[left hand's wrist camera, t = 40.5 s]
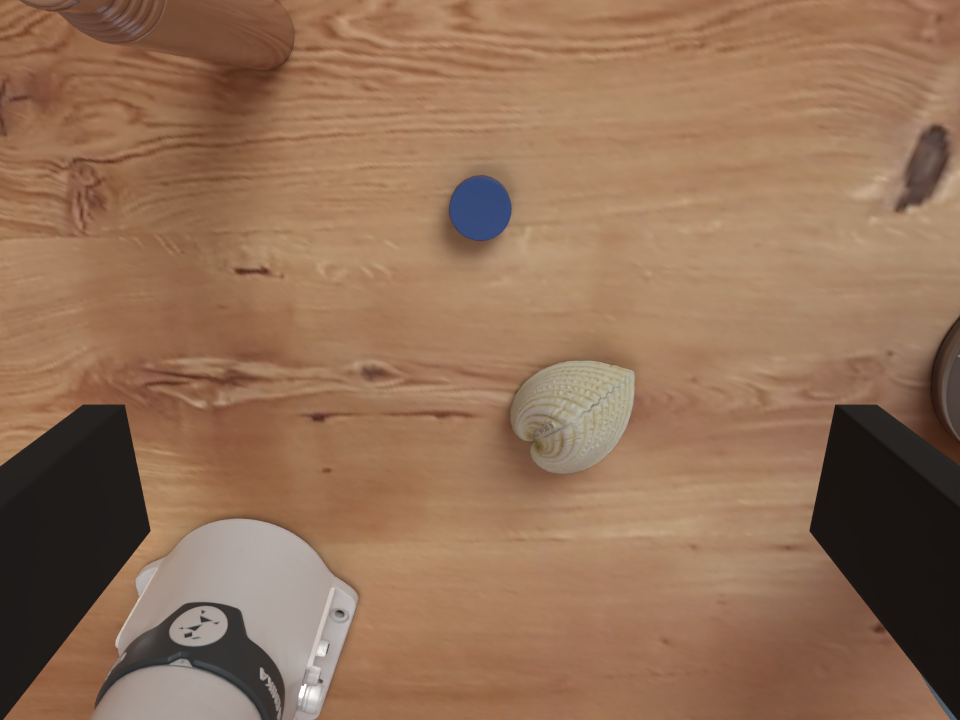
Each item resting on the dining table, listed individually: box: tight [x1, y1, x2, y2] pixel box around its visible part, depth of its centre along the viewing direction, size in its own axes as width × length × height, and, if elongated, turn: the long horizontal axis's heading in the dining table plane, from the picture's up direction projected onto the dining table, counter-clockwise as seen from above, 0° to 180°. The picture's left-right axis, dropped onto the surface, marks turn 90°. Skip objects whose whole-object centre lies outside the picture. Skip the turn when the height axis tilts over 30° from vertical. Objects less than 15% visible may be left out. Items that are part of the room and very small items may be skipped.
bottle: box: [20, 0, 294, 70], centre depth 32 cm, size 4×4×23 cm
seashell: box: [510, 361, 635, 474], centre depth 49 cm, size 8×8×8 cm
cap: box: [450, 175, 511, 241], centre depth 46 cm, size 4×4×2 cm
